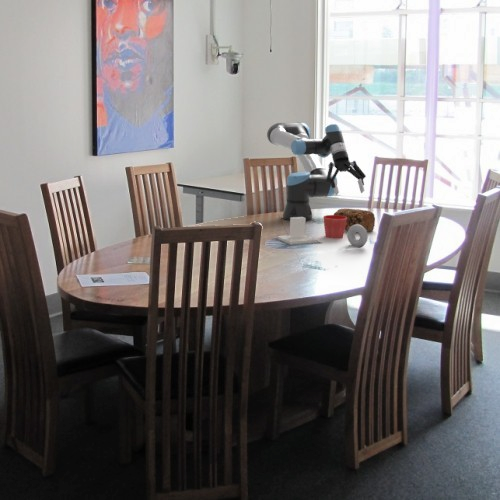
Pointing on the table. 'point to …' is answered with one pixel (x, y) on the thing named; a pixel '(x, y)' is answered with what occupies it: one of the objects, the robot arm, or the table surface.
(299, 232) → the lid
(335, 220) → the flower pot
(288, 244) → the mat
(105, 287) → the table surface
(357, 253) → the table surface
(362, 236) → the donut
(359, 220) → the bread
